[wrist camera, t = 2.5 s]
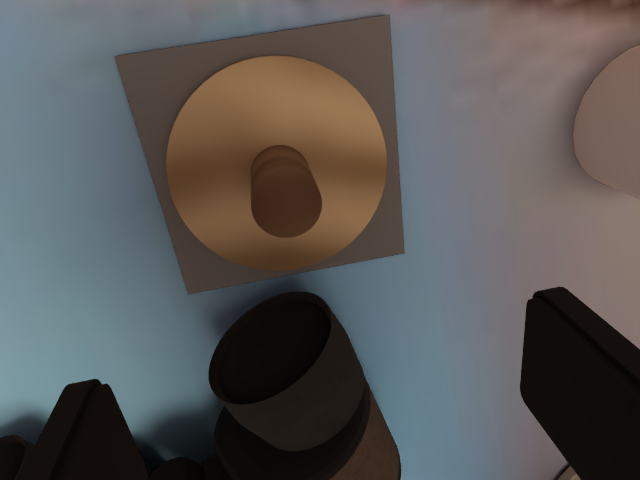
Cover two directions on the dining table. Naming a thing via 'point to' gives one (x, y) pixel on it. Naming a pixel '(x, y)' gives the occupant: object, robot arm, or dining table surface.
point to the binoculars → (280, 404)
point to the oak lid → (276, 163)
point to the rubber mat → (210, 57)
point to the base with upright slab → (612, 125)
